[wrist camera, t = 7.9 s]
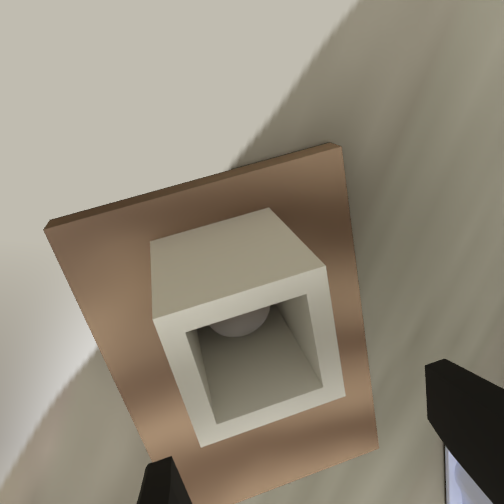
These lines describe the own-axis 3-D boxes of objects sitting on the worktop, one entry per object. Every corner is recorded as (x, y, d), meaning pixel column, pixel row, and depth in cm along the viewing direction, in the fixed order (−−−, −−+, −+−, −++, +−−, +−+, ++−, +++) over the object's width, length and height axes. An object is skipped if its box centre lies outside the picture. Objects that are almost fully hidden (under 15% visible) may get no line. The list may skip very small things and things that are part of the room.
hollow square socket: (289, 307, 19) (345, 396, 14) (184, 341, 19) (200, 447, 13) (268, 207, 17) (325, 265, 12) (150, 241, 16) (152, 319, 11)
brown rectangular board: (369, 432, 26) (408, 494, 22) (180, 504, 24) (186, 583, 20) (329, 142, 18) (378, 159, 14) (49, 220, 16) (21, 261, 13)
